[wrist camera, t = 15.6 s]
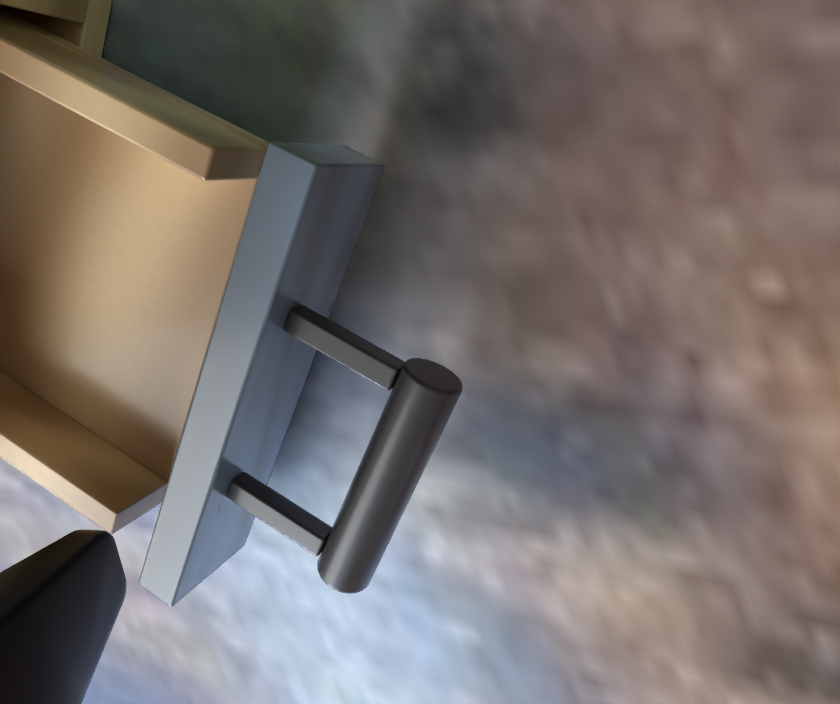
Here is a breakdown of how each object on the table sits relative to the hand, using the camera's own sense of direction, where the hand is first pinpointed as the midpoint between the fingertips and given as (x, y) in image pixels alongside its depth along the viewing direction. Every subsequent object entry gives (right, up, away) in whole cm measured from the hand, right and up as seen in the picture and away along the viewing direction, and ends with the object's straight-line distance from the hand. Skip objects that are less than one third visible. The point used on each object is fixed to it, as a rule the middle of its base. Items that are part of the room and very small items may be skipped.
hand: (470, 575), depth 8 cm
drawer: (-8, +4, +11) cm, 15 cm away
